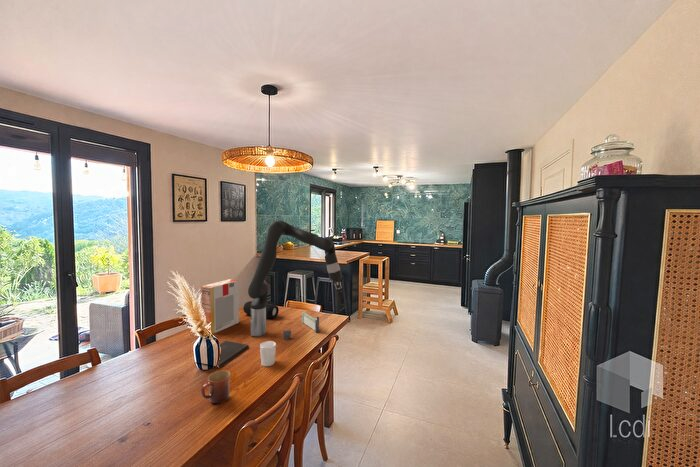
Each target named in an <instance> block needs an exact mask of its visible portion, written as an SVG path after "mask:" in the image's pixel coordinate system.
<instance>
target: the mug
mask: <svg viewBox="0 0 700 467" xmlns="http://www.w3.org/2000/svg"><path fill="white" fill-rule="evenodd" d="M231 375H232V373H231V371H229V370H227V369H222V370H216V371H214V372H212V373H210V374H209V375H208V376H207V382H206V383H205V384H203V385H202V386H201V389H200V394H201V396H202V398H203V399H206V400H208V399H209V402H210V403H211V402H212V404H213V403H220V404H223V403H225V402H226V401H227V400H228V399H229V397H230V379H231ZM207 387H209V394H207V395H206V393H205V390H206V388H207ZM224 401H225V402H224ZM222 402H223V403H222Z"/></svg>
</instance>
